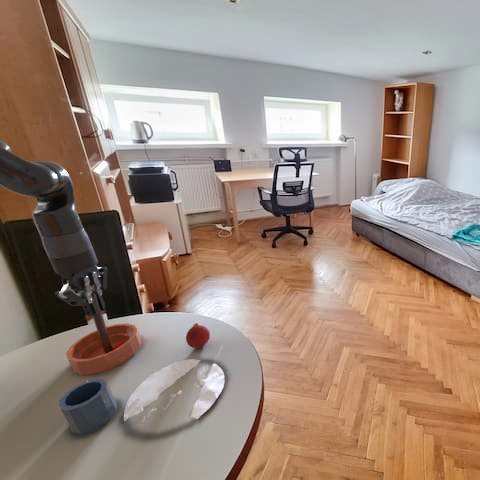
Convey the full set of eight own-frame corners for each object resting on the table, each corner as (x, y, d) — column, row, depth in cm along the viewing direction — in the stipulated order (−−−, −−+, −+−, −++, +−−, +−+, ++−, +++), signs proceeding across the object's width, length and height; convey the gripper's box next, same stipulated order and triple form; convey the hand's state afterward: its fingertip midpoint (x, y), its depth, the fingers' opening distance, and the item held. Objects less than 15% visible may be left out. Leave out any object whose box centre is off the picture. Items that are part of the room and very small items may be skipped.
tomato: (113, 341, 78) (124, 344, 78) (119, 339, 81) (130, 342, 81) (108, 352, 77) (119, 354, 78) (115, 349, 80) (125, 352, 81)
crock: (62, 438, 58) (47, 412, 55) (90, 405, 65) (78, 380, 62) (102, 433, 59) (89, 407, 56) (125, 401, 66) (115, 376, 63)
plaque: (141, 373, 72) (140, 369, 72) (227, 354, 79) (226, 350, 78) (108, 453, 55) (105, 448, 54) (221, 419, 61) (220, 415, 61)
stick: (103, 354, 76) (83, 297, 70) (108, 349, 78) (89, 293, 72) (110, 354, 76) (91, 297, 70) (115, 349, 78) (97, 293, 72)
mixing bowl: (58, 379, 71) (49, 364, 70) (100, 339, 85) (94, 325, 83) (121, 373, 73) (114, 358, 71) (152, 335, 87) (147, 321, 85)
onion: (205, 354, 79) (199, 331, 76) (185, 354, 79) (177, 331, 76) (215, 340, 84) (210, 317, 81) (196, 340, 84) (190, 317, 81)
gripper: (76, 240, 72) (100, 298, 79) (23, 263, 59) (57, 331, 66) (108, 238, 73) (129, 296, 79) (63, 261, 60) (92, 328, 67)
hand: (96, 312), depth 73 cm, fingers closed on stick, 2 cm apart
